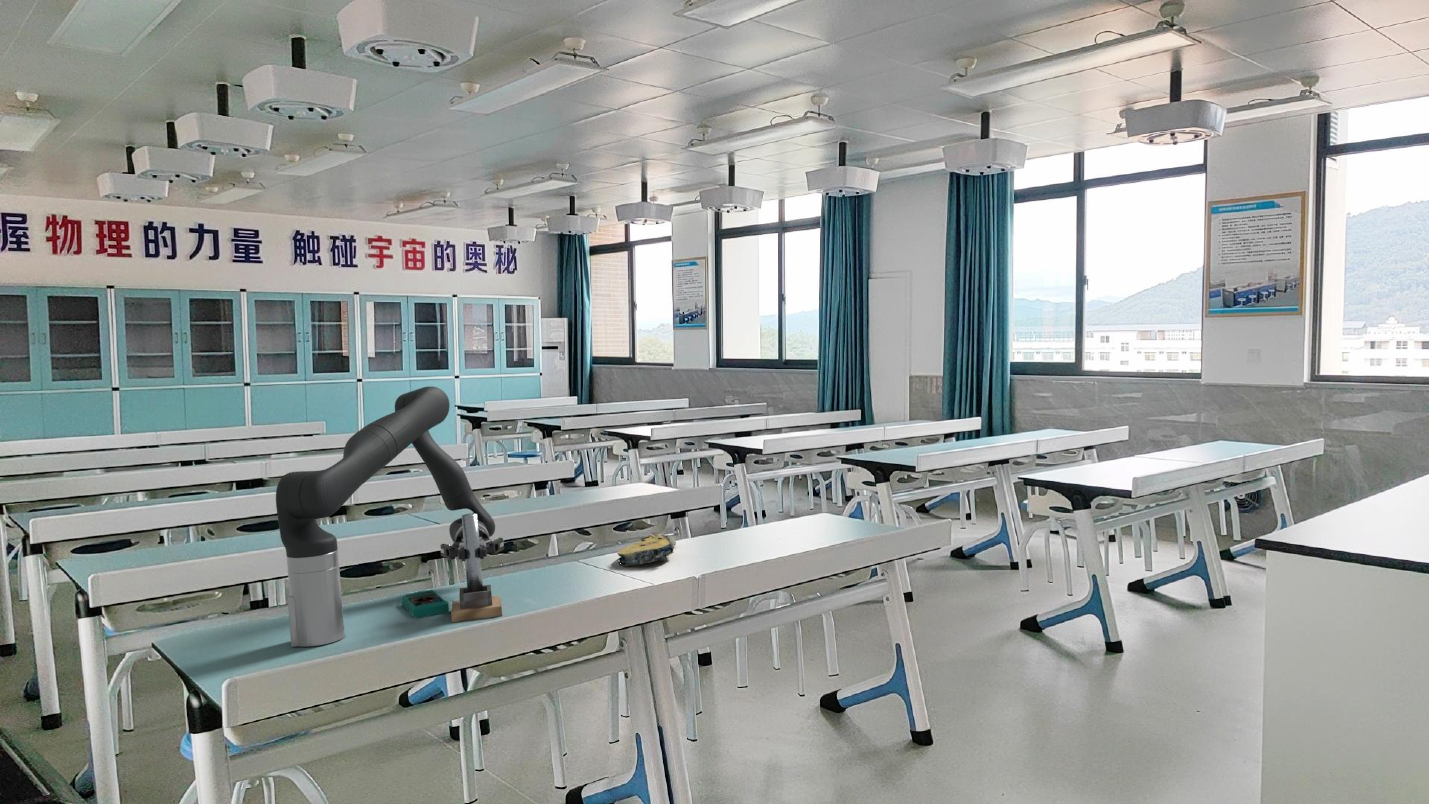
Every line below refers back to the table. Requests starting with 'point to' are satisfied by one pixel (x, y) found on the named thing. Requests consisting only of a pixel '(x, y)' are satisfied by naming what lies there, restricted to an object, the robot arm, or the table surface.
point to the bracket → (476, 605)
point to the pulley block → (647, 550)
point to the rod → (472, 553)
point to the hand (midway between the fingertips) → (472, 555)
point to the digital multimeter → (425, 603)
